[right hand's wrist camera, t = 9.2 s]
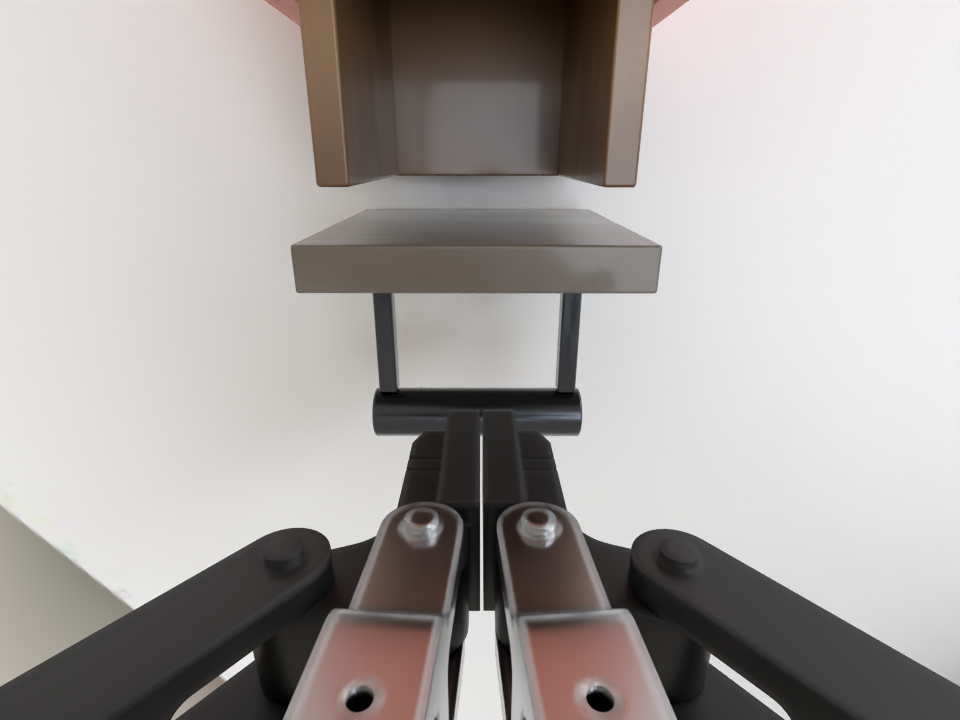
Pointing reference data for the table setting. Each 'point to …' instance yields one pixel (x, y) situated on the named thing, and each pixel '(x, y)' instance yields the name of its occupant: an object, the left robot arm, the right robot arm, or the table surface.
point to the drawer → (476, 169)
